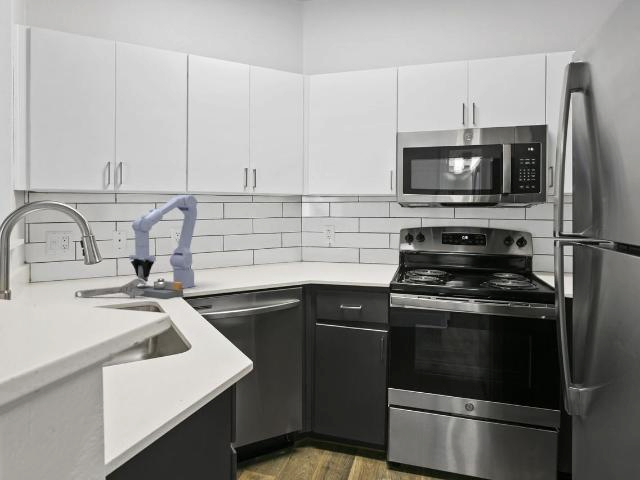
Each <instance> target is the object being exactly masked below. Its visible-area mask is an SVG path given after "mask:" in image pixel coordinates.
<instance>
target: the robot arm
mask: <svg viewBox="0 0 640 480" xmlns="http://www.w3.org/2000/svg"><path fill="white" fill-rule="evenodd" d="M197 204H198V200H197V198H196V196H195V195H193V194H175V196H173V197H171V199H170V200H169V201H167V202H166V203H165V204H163V205H162V206H161V207H160V208H158V209H157V208H151V209H149V212H147V213H146V214H145V215H144V214H143V215H141V217H140V218H136V219H134V221H133V223H132V225H131V227H132V230H133V231H134V245H135V247H134V249H135V252H134V253H135V254H129V255H128V256H129V260H131V261H130V264H132V266H133V268H134V273H135V275H136V278H138V265H142V267H143V275H144V277H148V278H149V277H150V272H151V270H152V267H153V265H154V264H155V262H157V256H153V255H150V231H151V230H152V227H153V226H155V225H156V224H157V223H159V222H160V221H162V220H163V217H164V215H167V214H168V213H170V211H172V210H174V209H178V210H179V211H180V212H182V214H183V215H184V216H183V217H184V218H183V222H182V227H181V231H180V236H179V240H178V243H177V244H178V245H177V247H176V249H174V250H173V253H172V255H171V256H170V259H169V264H170V266H172V270H173V273H172V275H173V279H172V280H173V281H172V282H182V290H184V289H188V288H193V287H196V284H195V271H194V270H193V268H192V267H191V266H193V265H192V264H193V253H192V251H191V249H190V248H191V244H192V239H193V235H194V229H195V225H196V221H197V216H198V210H197Z"/></svg>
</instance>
